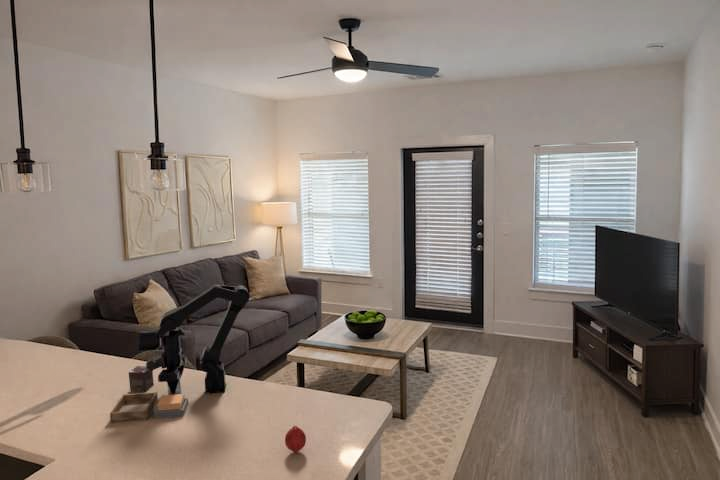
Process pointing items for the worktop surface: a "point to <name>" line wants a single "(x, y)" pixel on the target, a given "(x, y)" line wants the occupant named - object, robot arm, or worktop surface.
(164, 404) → the pad
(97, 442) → the worktop surface
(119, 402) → the tray
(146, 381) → the box
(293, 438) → the onion
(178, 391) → the cylinder
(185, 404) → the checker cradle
